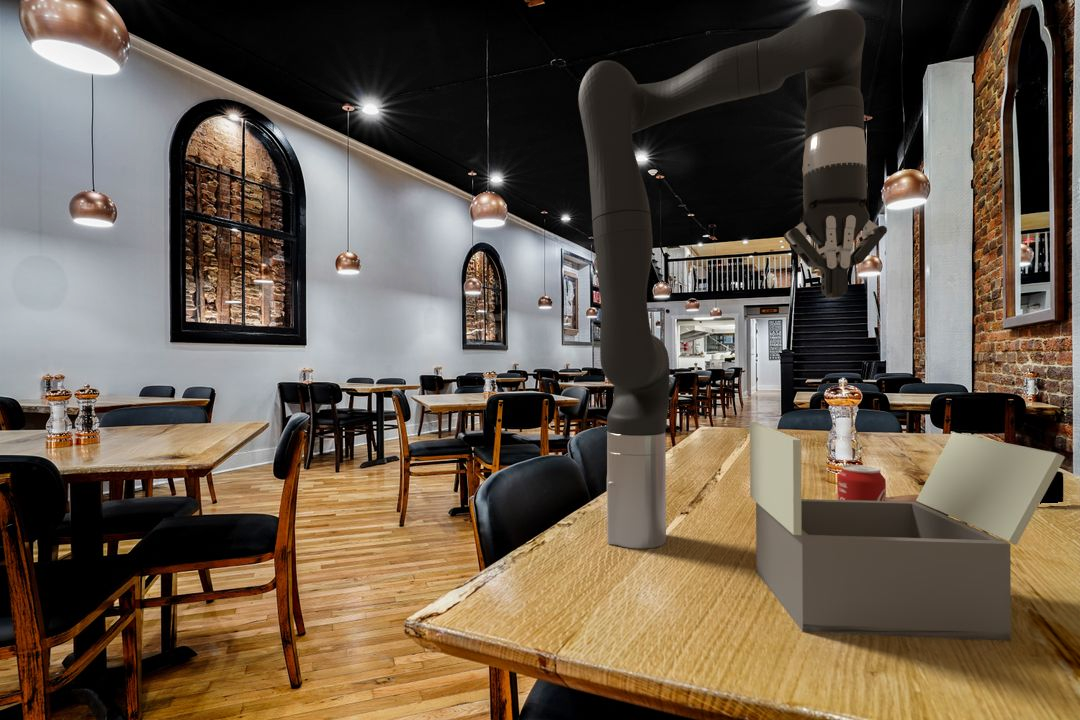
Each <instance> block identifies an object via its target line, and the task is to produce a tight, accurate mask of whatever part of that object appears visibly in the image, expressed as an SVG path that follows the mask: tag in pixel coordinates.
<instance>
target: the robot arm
mask: <svg viewBox="0 0 1080 720" xmlns="http://www.w3.org/2000/svg"><path fill="white" fill-rule="evenodd" d="M865 37H866V24H865V20H864V18H863V17H862V16H861V14H859V13H858V12H857V11H854V10H852V9H847V8H838V9H837V8H835V9H830V10H825V11H822V12H819V13H817V14H814V15H811V16H810V17H808V18H806V19H803V20H801V21H799V22H798V23H795V24H793V25H791V26H789V27H787V28H785V29H783V30H781V31H780V32H778V33H775V35H772V36H771V37H770V36H769V37H767V38H762V39H759V40H753V41H750V42H746V43H743V44H739V45H736V46H731V47H728V48H725V49H723V50H719V51H717V52H716V53H714V54H712V55H710V56H708V57H707V58H705V59H703V60H701V61H700V62H698V63H696V64H695V65H693V66H691V67H690V68H688V69H687V70H685V71H683V72H682V73H680V74H678V75H676V76H673V77H670V78H669V79H668V78H667V79H665V80H662V81H657V82H651V83H650V82H649V83H643V84H642V83H641V84H638V83H637V81H636V79H635V78H634V76H633V75H632V73H631V72H630V71H629V70H628V69H627V68H626V67H625V66H623V65H622V64H621V63H619V62H617V61H615V60H614V61H613V60H601V61H598V62H597V63H595V64H593V65H592V66H591V67H589V69H588V70H587V71H586V73H585V75H584V76H583V78H582V80H581V83H580V86H579V91H578V97H577V99H578V109H579V113H580V118H581V124H582V128H583V129H582V130H583V134H584V138H585V144H586V151H587V158H588V172H589V173H588V174H589V189H590V190H589V192H590V202H591V221H592V234H593V235H592V236H593V245H594V251H595V252H594V253H595V261H596V273H597V274H596V275H597V282H598V291H599V298H600V339H599V340H600V341H599V343H600V344H599V345H600V346H599V347H600V349H599V350H600V351H599V356H600V358H599V359H600V367H601V370H602V372H603V374H604V376H605V378H606V379H607V381H608V382H609V383H611V384H612V385H613V386H614V387H613V400H612V401H613V402H612V406H611V408H610V410H609V411H608V414H607V417H606V436H607V438H606V442H607V443H606V446H607V447H606V457H607V458H606V460H607V461H606V462H607V463H606V465H607V466H606V467H607V469H606V471H607V473H606V534H607V535H606V539H607V544H608V545H616V546H619V547H623V548H629V549H639V550H641V549H645V550H646V549H655V548H657V547H661V546H663V545H664V544H665V543H666V542H667V488H666V487H667V481H666V480H667V473H666V471H667V464H666V463H667V462H666V459H667V456H666V450H667V449H666V448H667V447H666V446H667V445H666V444H667V443H666V440H667V439H666V430H667V429H666V425H667V424H666V422H667V418H668V414H669V405H670V356H669V353H668V350H667V348H666V346H665V343H664V342H663V341H662V340H661V339H660V338H658V337H657V336H656V335H654V334H652V329H651V323H650V318H649V317H650V316H649V311H648V301H647V297H648V295H647V293H648V283H649V278H650V272H651V266H652V258H653V244H654V242H653V229H652V227H653V226H652V217H651V208H650V202H649V197H648V194H647V190H646V185H645V184H644V179H643V176H642V172H641V169H640V167H639V164H638V163H639V162H638V161H637V158H636V157H637V156H636V153H635V147H634V143H633V134H634V133H637V132H640V131H642V130H644V129H646V128H649V127H652V126H655V125H657V124H660V123H663V122H666V121H668V120H671V119H675V118H677V117H679V116H682V115H686V114H689V113H691V112H693V111H697V110H700V109H704V108H708V107H712V106H715V105H718V104H723V103H727V102H732V101H737V100H740V99H741V100H742V99H747V98H750V97H754V96H759V95H762V94H768V93H771V92H774V91H776V90H778V89H779V88H781V87H782V86H783V84H784V83H785V80H786V79H787V78H789V77H792V76H794V75H797V74H799V73H803V72H805V74H804V75H805V86H806V87H805V91H806V103H807V105H806V108H805V116H804V117H805V119H804V150H803V151H804V152H803V158H802V159H803V161H802V163H803V164H802V167H801V168H802V169H801V170H802V171H801V172H802V174H803V175H802V179H803V181H802V183H803V184H802V185H803V188H802V189H803V195H802V196H803V200H802V201H803V202H802V203H803V205H802V207H803V212H802V215H801V217H800V219H799V224H797V226H795V227H792V229H790V230H788V231H787V232H786V233H784V234H783V238H784V240H785V241H786V242H787V244H788V245H789V246H790V247H791V248H792V250H794V252H795V253H796V254H797V255H798V257H799V258H800V259H801V260H802V261H803V262H804V264H805V265H806V266H807V267H809V268H815V269H817V270H819V271H820V275H821V276H820V282H821V284H820V286H821V287H820V288H821V289H820V291H821V293H822V295H825V299H830V300H831V299H840V298H843V297H844V295H845V294H846V293H847V292H848V290H849V289H848V288H849V286H848V284H849V283H848V282H849V281H848V279H849V277H848V275H849V270H850V269H849V268H851V267H854V266H856V265H860V264H861V263H864V261H865V260H866V259H867V257H869V255H870V253H871V252H872V251H873V250H874V248H875V247H876V246H878V244H879V242H880V241H881V240H882V238H884V236H885V235H886V234H887V232H888V228H887V226H885V225H880V226H879V225H877V224H876V223H875V222H873V221H871V220H870V213H869V211H868V210H867V206H866V205H867V203H866V202H867V193H868V192H867V145H866V138H865V107H864V106H865V104H864V98H863V94H862V91H861V79H862V78H861V76H862V75H861V74H862V61H863V59H862V58H863V50H864V43H865ZM861 231H862V233H861ZM860 233H861V238H862V240H861V241H860V243H859V244H858V245H857V247H855V249H854V250H853V248H854V241H855V240H856V239H857V237H858V236H859V235H860ZM808 236H809V238H811V240H812V242H813V243H814V244H815V246H816V248H815V247H814V246H813V244H811V242H810V241H809V240H808V239H807V237H808ZM852 250H853V251H852Z"/></svg>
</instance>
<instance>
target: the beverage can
mask: <svg viewBox="0 0 1080 720" xmlns="http://www.w3.org/2000/svg"><path fill="white" fill-rule="evenodd" d="M841 467H842V469H841V470H840V471H839V473H838V474H837V500H862V501H886V497H887V494H886V491H887V490H886V489H887V485H886V484H887V482H886V478H885V477H884V475H883V474H882V473H881V469H880V468H878V467H876V466H872V465H871V466H870V465H862V464H844V465H842V466H841Z"/></svg>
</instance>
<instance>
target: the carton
mask: <svg viewBox="0 0 1080 720" xmlns="http://www.w3.org/2000/svg"><path fill="white" fill-rule="evenodd" d="M749 452H750V453H749V460H750V461H749V466H750V467H749V471H750V473H749V480H750V482H749V483H750V484H749V485H750V487H749V488H750V489H749V491H750V495H749V496H750V498H751V499H752V500H753V501H754V502H755V508H756V509H755V521H756V523H755V526H756V527H755V534H756V535H755V537H756V538H755V541H756V543H755V544H756V545H755V546H756V547H755V549H756V550H755V551H756V555H755V557H756V561H755V563H756V567H755V568H756V572H755V573H757V575H758V576H759V578H760V579H761V580H762V581H763V582H764V584H765V585H766V586H767V588H768V589H769V590H770V592H771V593H772V595H773V596H774V597H775V598H776V599H777V600H778V602H779V603H780V605H781V606H782V607H783V608H784V610H785V611H786V612H787V613H788V615H789V616H790V617H791V619H792V620H793V622H794V623H795V624H796V626H797V627H798V628H799V629H800V631H801V632H803V633H817V634H838V635H841V634H842V635H859V636H863V635H864V636H880V637H881V636H883V637H884V636H886V637H905V638H906V637H908V638H926V639H927V638H928V639H947V640H948V639H950V640H954V639H955V640H971V641H972V640H973V641H992V642H993V641H994V642H1011V641H1012V628H1011V627H1012V626H1011V625H1012V617H1011V616H1012V614H1011V613H1012V612H1011V611H1012V609H1011V608H1012V605H1011V604H1012V603H1011V602H1012V601H1011V600H1012V599H1011V598H1012V594H1011V589H1012V588H1011V585H1012V584H1011V583H1012V581H1011V577H1012V576H1011V543H1010V542H1008V541H1006V540H1004V539H1001V538H999V537H997V536H995V535H992V534H990V533H988V532H986V531H983V530H981V529H979V528H977V527H974V526H972V525H970V524H968V523H965V522H963V521H961V520H958V519H956V518H954V517H952V516H946V515H944V514H942V513H939V512H937V511H935V510H933V509H930V508H928V507H926V506H924V505H921V504H919V503H917V502H907V501H862V500H838V499H817V498H816V499H812V498H811V499H810V498H809V499H805V498H804V499H803V498H802V439H800V438H798V437H794V436H792V435H789V434H787V433H784V432H782V431H779V430H777V429H774V428H771V427H769V426H766V425H764V424H761V423H759V422H755V421H754V422H751V421H750V422H749ZM995 640H996V641H995Z"/></svg>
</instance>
